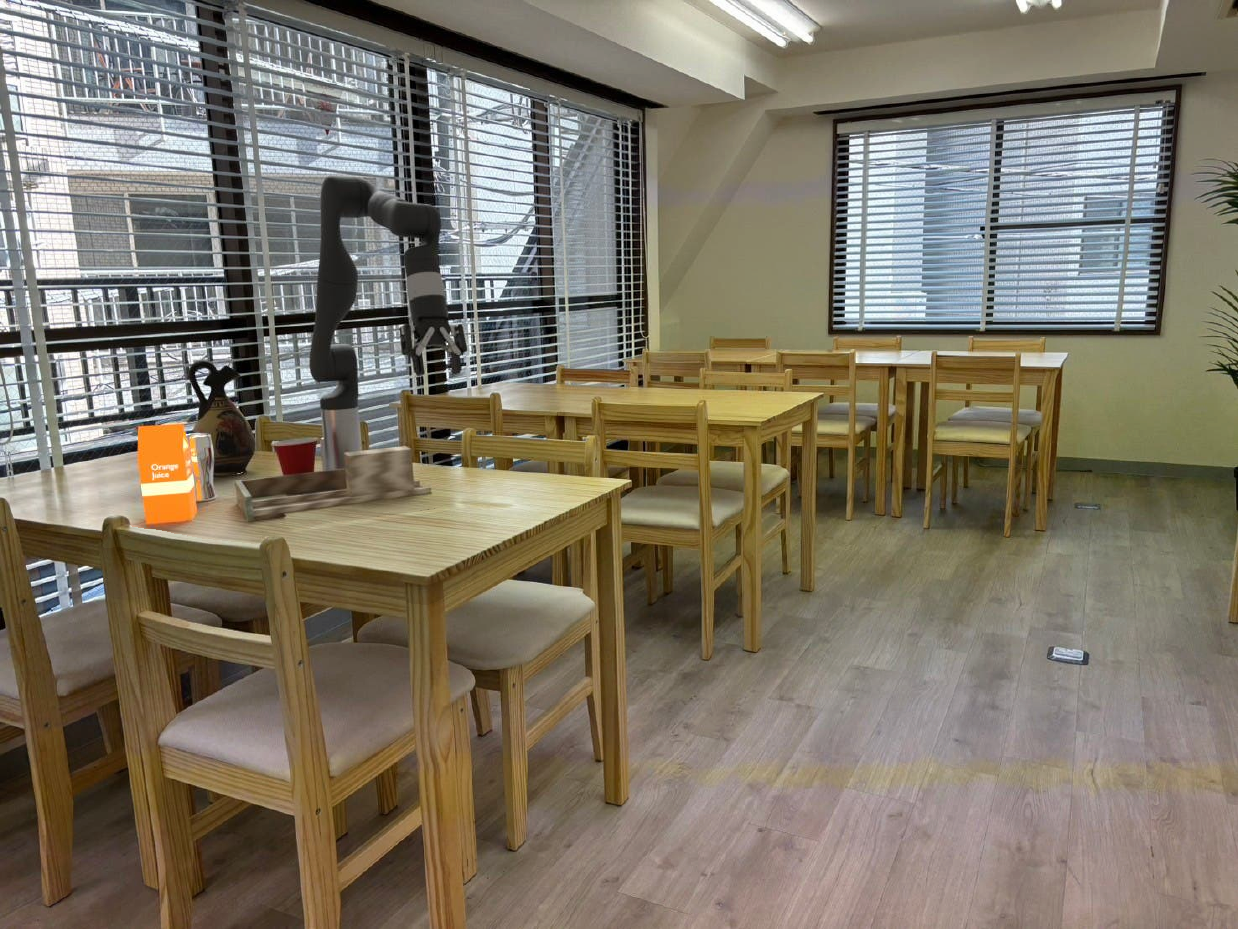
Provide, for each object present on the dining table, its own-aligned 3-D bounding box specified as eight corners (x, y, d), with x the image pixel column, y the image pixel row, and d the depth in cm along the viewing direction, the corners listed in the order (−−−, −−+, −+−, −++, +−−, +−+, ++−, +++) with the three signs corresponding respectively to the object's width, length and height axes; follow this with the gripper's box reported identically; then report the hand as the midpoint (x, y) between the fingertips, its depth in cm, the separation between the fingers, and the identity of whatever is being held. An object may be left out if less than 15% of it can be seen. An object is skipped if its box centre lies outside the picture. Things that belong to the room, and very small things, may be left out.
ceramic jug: (252, 465, 251) (240, 356, 246) (262, 474, 238) (250, 359, 233) (185, 473, 243) (171, 360, 237) (192, 482, 230) (177, 364, 224)
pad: (252, 506, 199) (252, 504, 199) (248, 500, 205) (248, 498, 205) (290, 501, 202) (290, 499, 202) (285, 495, 208) (285, 494, 208)
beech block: (352, 500, 201) (348, 456, 199) (347, 496, 206) (343, 452, 204) (414, 492, 208) (411, 449, 206) (408, 488, 212) (405, 446, 210)
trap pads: (304, 499, 204) (304, 498, 204) (299, 493, 210) (299, 492, 210) (393, 488, 213) (393, 486, 213) (385, 482, 219) (385, 481, 219)
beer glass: (212, 494, 216) (204, 431, 213) (223, 498, 211) (216, 434, 208) (181, 499, 211) (173, 435, 208) (192, 504, 206) (184, 438, 203)
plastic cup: (304, 481, 227) (300, 434, 225) (332, 486, 221) (327, 437, 219) (266, 490, 219) (261, 440, 216) (293, 494, 212) (288, 444, 210)
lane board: (247, 521, 189) (245, 496, 188) (237, 503, 205) (234, 480, 204) (432, 496, 207) (430, 474, 206) (408, 481, 223) (407, 460, 222)
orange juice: (192, 520, 191) (180, 426, 187) (145, 524, 189) (133, 429, 185) (197, 511, 198) (186, 421, 195) (153, 515, 196) (141, 424, 192)
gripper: (447, 303, 196) (458, 377, 196) (387, 301, 187) (399, 379, 186) (465, 294, 191) (477, 370, 190) (405, 291, 181) (417, 371, 181)
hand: (438, 374), depth 188 cm, fingers open, 8 cm apart
